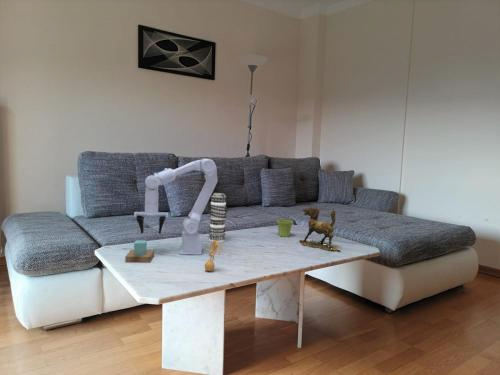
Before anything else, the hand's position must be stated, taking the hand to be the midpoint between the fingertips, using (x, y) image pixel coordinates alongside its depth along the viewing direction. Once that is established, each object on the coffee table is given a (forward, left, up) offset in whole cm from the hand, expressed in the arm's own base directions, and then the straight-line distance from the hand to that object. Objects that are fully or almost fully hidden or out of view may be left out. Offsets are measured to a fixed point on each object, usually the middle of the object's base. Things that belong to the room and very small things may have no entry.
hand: (151, 233), depth 160 cm
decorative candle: (-30, -27, -10) cm, 41 cm away
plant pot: (-69, -40, -10) cm, 80 cm away
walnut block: (+3, +8, -10) cm, 13 cm away
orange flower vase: (-27, +22, -10) cm, 36 cm away
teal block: (+3, +8, -7) cm, 11 cm away
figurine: (-83, -18, -10) cm, 86 cm away
